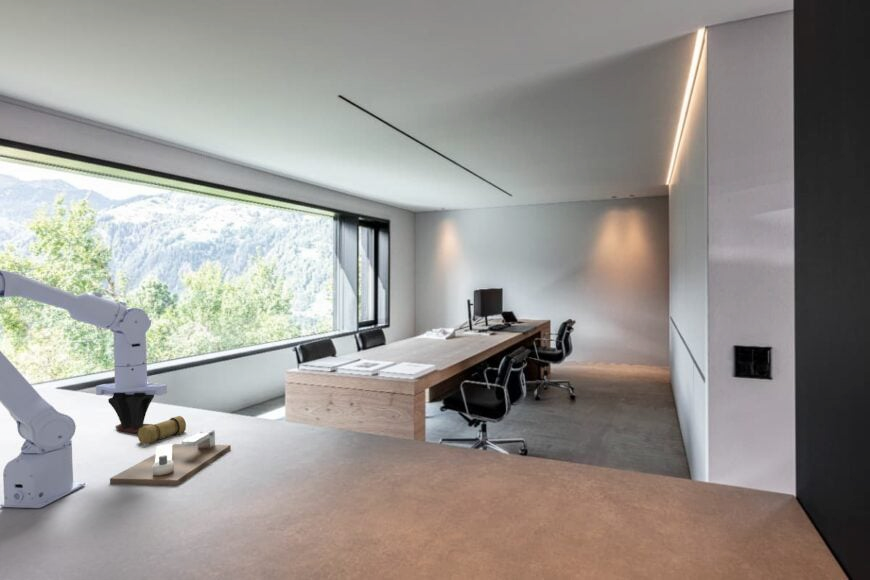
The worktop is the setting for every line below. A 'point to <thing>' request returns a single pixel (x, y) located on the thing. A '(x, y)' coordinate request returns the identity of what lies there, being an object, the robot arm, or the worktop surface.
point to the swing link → (163, 460)
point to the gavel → (157, 430)
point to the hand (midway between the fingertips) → (132, 428)
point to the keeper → (201, 439)
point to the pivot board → (184, 466)
